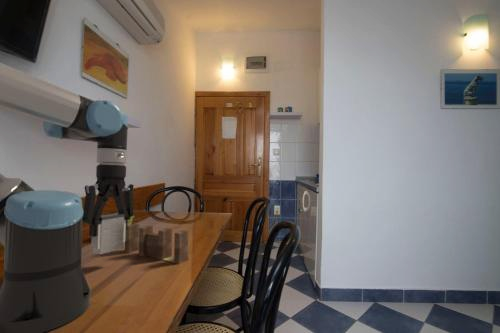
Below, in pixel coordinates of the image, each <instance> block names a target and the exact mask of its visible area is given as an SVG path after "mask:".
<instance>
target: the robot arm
mask: <svg viewBox="0 0 500 333" xmlns="http://www.w3.org/2000/svg"><path fill="white" fill-rule="evenodd" d="M0 108H1V109H4V110H6V111H11V112H13V113H17V114H20V115H23V116H26V117H30V118H34V119H37V120H41V121H42V124H43V125H42V128H43V131H44V134H45V135H46V136H48V137H50V138H56V139H59V140H60V139H61V140H73V141H85V142H91V143H92V142H93V143H96V146H97V147H96V163H97V165H96V167H95V168H96V169H95V174H96V175H95V177H96V182H95V184H91V185H85V186H84V193H85V196H84V198H85V199H84V203H83V201H82V198H81V197H80V196H79V194H76V193H75V192H71V191H62V190H54V189H53V190H51V189H50V190H48V189H47V190H46V189H45V190H35V189H34V188H33V187H31V186H30V184H28V183H27V182H25V181H24V180H23V179H21V178H19V177H18V178H17V177H15V178H14V177H6V176H4V175H3V174H2V173H0V245H1V246H3V247H4V257H3V258H4V259H3V260H4V261H3V262H4V263H3V266H4V267H3V269H4V270H3V271H4V272H3V283H2V285H1V287H0V333H46V332H49V331H51V330H55V329H56V328H59V327H61V326H64V325H66V324H69V323H70V322H72V321H74V320H76V319H77V318H79V317H80V316H82V315H83V314H84V313H85V312H86V311H87V310H88V309H89V307H90V305H91V293H92V292H91V289H90V286H89V283H88V281H87V279H86V276H85V273H84V271H83V267H82V251H83V250H82V248H83V247H82V245H83V224H88V225H89V227H88V231H89V232H88V235H89V237H91V241H90V243H91V245H90V248H91V249H93V248H94V249H100V243H101V224H98V222H99V220H100V217H101V215H103V211H104V208H105V206H106V204H107V202H108V201H109V199H110V198H112V199H113V200H114V203H115V206H116V209H117V213H121V214H125V215H124V238H123V243H125V231H126V230H127V223H128V220H129V219H130V218H131V216H135V210H134V199H133V198H134V197H133V195H134V194H133V192H134V188H135V187H134V184H132V183H131V184H130V183H129V184H128V183H126V182H125V178H126V177H127V166H126V165H125V164H126V163H127V148H128V130H129V124H128V115H127V114H126V113H125V112H124V111H122V110H121V109H120V107H119V106H118V105H117V104H116V103H115V102H112V101H111V100H106V99H105V100H100V99H99V100H93V99H91V98H87V97H86V96H82V95H80V94H77V93H75V92H72V91H70V90H68V89H65V88H62V87H60V86H58V85H55V84H52V83H51V82H48V81H46V80H43V79H41V78H38V77H36V76H33V75H31V74H29V73H26V72H24V71H21V70H19V69H16V68H14V67H12V66H9V65H7V64H4V63H2V62H0ZM97 192H98V193H97ZM96 193H97V194H96Z"/></svg>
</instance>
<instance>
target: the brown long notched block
mask: <svg viewBox="0 0 500 333" xmlns="http://www.w3.org/2000/svg"><path fill="white" fill-rule="evenodd" d="M157 232H158V233H156V232H154V226H153V225H149V224H148V225H144V226H141V227H140V224H139V223H131V224H130V225H127V230H126V231H125V242H124V253H126V254H130V253H134V252H136V251H138V256H141V257H145V256H147V257H152V258H157V260H160V261H163V262H164V261H165V262H170V263H174V264H179V265H180V264H183V263H184V262H186V261H188V260H189V230H184V229H183V230H180V231H179V230H178V231H176V232H174V243H173V228H170V227H166V228H162V229H159V230H158V231H157ZM173 244H174V247H173ZM173 248H174V249H173ZM173 250H174V251H173ZM173 252H174V254H173Z"/></svg>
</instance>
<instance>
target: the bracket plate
mask: <svg viewBox="0 0 500 333" xmlns="http://www.w3.org/2000/svg"><path fill="white" fill-rule="evenodd" d="M124 215H125V214H121V213H118V212H117V213H116V212H114V213H109V214H101V217H100V220H99V222H98V224H101V243H100V249H94V248H92V249H93V251H92V252H93V254H96V255H103V254H107V253H110V252H114V251H116V250H117V251H118V250H120V249H123V248H124V242H123V238H124Z"/></svg>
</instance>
